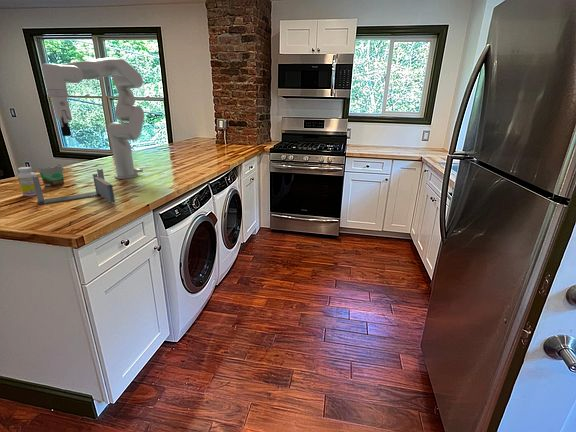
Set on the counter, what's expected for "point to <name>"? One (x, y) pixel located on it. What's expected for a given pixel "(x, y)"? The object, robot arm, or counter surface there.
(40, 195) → the gate frame
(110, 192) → the gate
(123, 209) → the counter surface
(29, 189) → the supplement bottle
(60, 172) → the food container
